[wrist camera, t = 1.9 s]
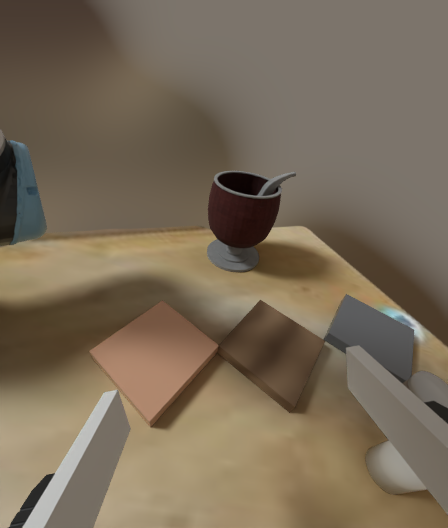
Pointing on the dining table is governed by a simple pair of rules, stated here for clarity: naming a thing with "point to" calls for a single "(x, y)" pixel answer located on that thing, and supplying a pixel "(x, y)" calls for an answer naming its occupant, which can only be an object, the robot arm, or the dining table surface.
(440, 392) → the pepper shaker
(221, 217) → the mate gourd
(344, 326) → the slate coaster
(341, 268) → the dining table surface
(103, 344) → the terracotta coaster
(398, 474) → the salt shaker
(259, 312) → the walnut coaster
